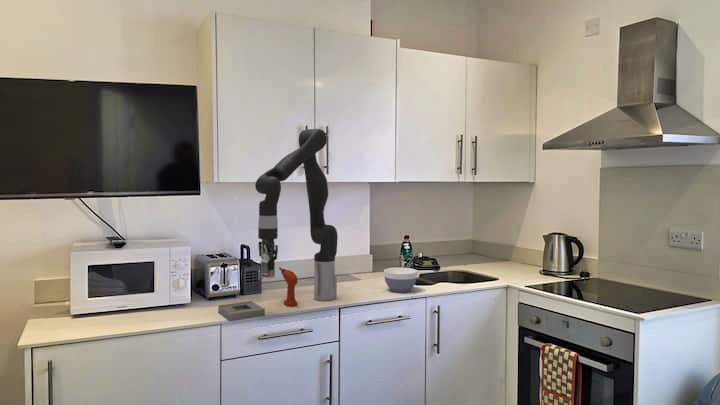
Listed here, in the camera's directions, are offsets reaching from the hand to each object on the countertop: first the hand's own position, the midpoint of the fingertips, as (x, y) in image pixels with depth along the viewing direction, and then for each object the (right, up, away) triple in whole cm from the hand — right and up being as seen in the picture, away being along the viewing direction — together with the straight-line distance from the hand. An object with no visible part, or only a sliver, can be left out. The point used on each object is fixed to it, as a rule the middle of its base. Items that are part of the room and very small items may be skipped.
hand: (267, 268), depth 202 cm
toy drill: (+5, -17, +18) cm, 25 cm away
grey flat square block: (-10, -18, -1) cm, 21 cm away
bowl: (+56, -16, +42) cm, 72 cm away
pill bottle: (0, -4, 0) cm, 4 cm away
